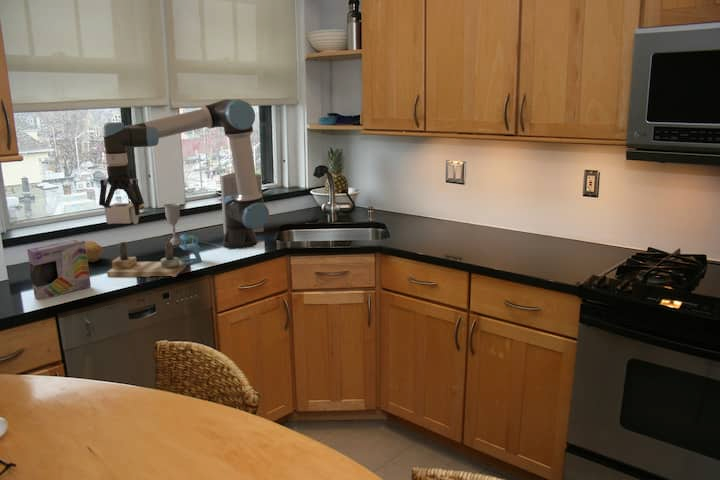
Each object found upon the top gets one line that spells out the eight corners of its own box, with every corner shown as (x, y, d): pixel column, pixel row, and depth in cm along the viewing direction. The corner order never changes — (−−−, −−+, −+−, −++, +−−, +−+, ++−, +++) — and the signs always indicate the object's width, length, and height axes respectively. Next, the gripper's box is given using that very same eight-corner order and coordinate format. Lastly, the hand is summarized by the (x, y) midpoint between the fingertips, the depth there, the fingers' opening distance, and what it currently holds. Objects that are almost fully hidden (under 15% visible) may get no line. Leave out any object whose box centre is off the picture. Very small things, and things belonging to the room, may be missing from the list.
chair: (203, 263, 255) (201, 234, 252) (183, 266, 251) (181, 237, 248) (197, 258, 261) (195, 230, 259) (178, 261, 257) (175, 233, 254)
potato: (78, 267, 250) (75, 248, 248) (78, 259, 263) (76, 240, 261) (104, 264, 254) (102, 245, 252) (103, 256, 267) (101, 238, 265)
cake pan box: (36, 301, 211) (29, 250, 207) (30, 298, 214) (23, 248, 210) (92, 287, 225) (86, 240, 220) (85, 285, 228) (80, 237, 224)
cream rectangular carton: (256, 225, 323) (254, 171, 317) (264, 231, 310) (261, 175, 303) (219, 229, 316) (216, 173, 309) (225, 235, 303) (221, 177, 296)
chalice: (170, 246, 283) (167, 206, 279) (164, 243, 288) (160, 204, 284) (185, 243, 288) (182, 204, 283) (179, 240, 293) (176, 202, 288)
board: (186, 266, 250) (184, 237, 247) (175, 276, 237) (172, 246, 234) (122, 266, 251) (119, 237, 248) (107, 276, 238) (104, 246, 235)
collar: (139, 218, 244) (137, 203, 242) (130, 223, 235) (128, 207, 233) (116, 218, 244) (115, 203, 243) (106, 223, 235) (104, 207, 234)
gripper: (84, 166, 231) (91, 225, 237) (142, 165, 230) (147, 225, 236) (93, 163, 238) (100, 221, 244) (149, 163, 237) (155, 221, 243)
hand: (123, 223), depth 240 cm, fingers closed on collar, 9 cm apart
